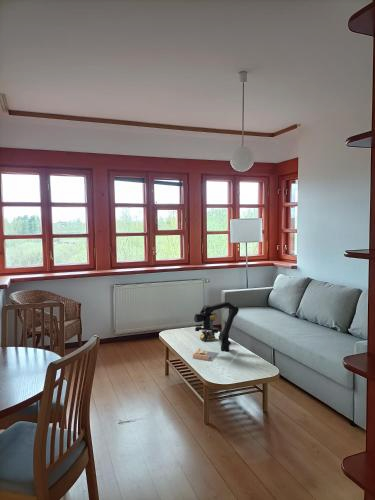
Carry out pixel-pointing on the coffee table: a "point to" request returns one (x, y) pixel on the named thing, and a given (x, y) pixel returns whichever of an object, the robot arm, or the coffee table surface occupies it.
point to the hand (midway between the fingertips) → (206, 339)
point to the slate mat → (211, 355)
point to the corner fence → (200, 356)
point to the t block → (201, 352)
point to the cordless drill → (211, 335)
